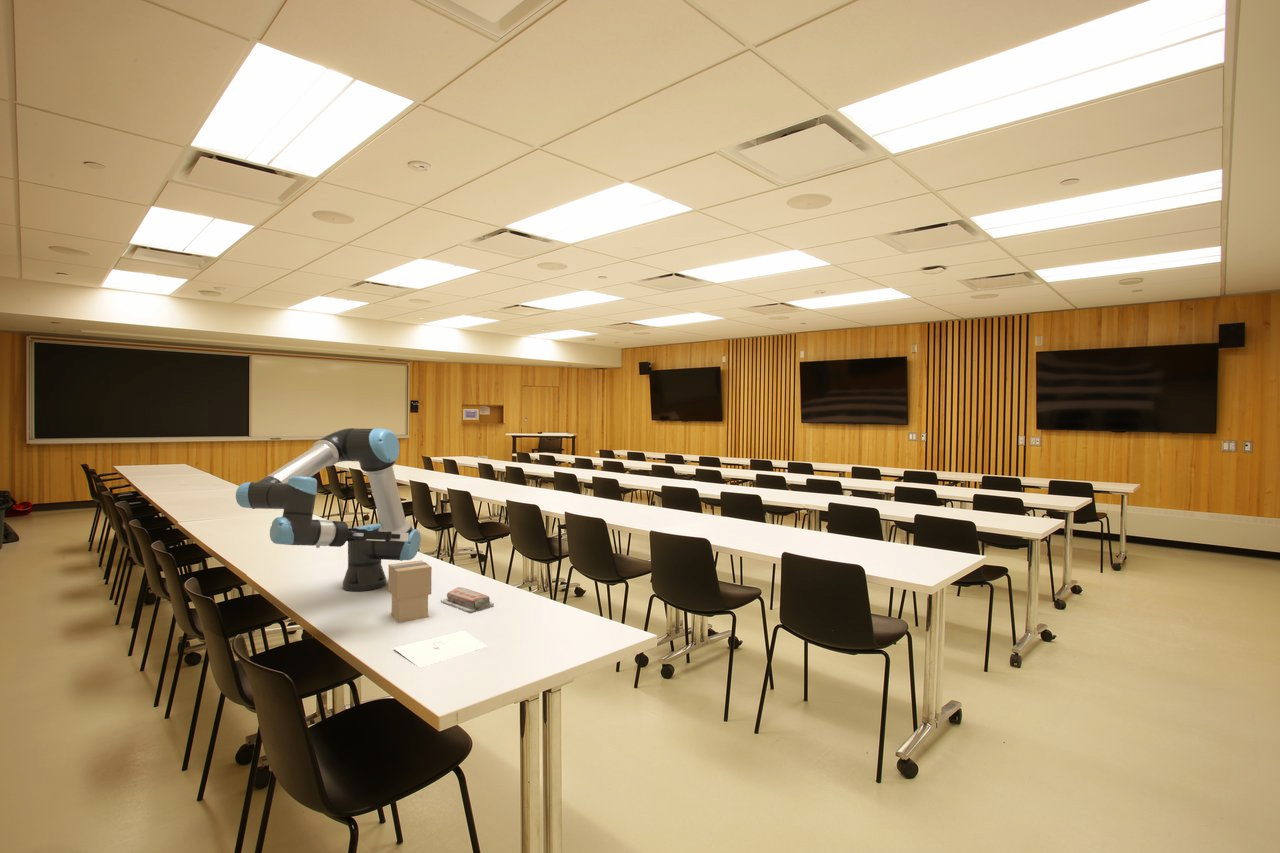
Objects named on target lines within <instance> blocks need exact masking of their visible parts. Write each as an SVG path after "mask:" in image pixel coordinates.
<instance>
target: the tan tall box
mask: <svg viewBox="0 0 1280 853" xmlns="http://www.w3.org/2000/svg"><path fill="white" fill-rule="evenodd" d="M391 616H392V617H393V618H394V619H395V620H396V621H397V622H398V623H405V622H409V621H414V620H419V619H424V618H428V617H429V595H424V596H418V597H412V598H406V599H400V600H397V599H396V598H395V597H394V596H392V595H391Z"/></svg>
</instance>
